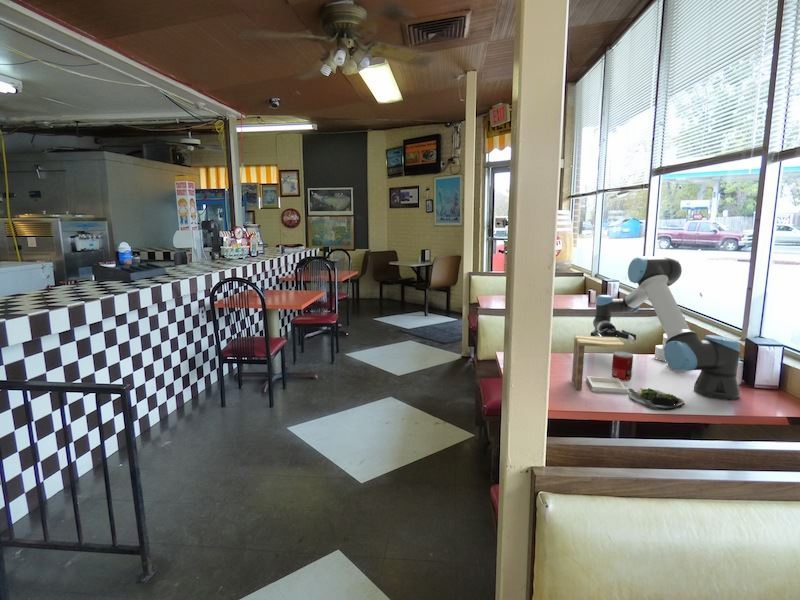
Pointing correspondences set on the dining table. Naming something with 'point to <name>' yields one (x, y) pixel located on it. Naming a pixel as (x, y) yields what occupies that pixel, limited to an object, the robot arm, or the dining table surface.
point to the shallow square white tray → (606, 384)
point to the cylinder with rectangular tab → (661, 349)
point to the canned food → (622, 365)
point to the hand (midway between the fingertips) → (617, 340)
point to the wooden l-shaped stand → (579, 353)
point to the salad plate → (656, 399)
